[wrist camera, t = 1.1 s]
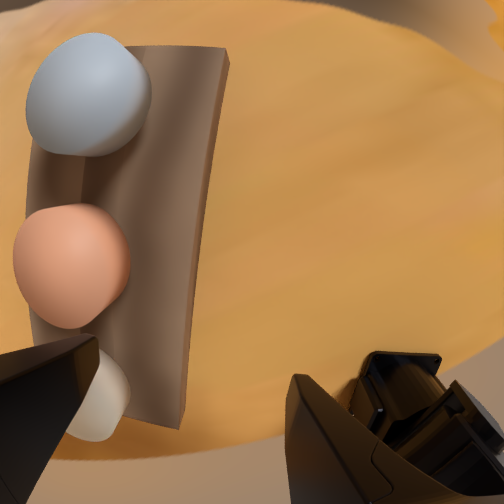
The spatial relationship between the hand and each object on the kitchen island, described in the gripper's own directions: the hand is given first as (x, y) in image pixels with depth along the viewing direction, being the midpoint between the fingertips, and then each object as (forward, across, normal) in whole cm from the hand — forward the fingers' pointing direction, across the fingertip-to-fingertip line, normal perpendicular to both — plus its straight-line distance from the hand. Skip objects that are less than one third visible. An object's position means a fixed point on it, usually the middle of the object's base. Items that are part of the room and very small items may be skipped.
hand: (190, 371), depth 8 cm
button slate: (+11, +8, -9) cm, 16 cm away
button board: (+12, +8, 0) cm, 14 cm away
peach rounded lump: (+11, +8, 0) cm, 13 cm away
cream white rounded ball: (+11, +8, +8) cm, 16 cm away
